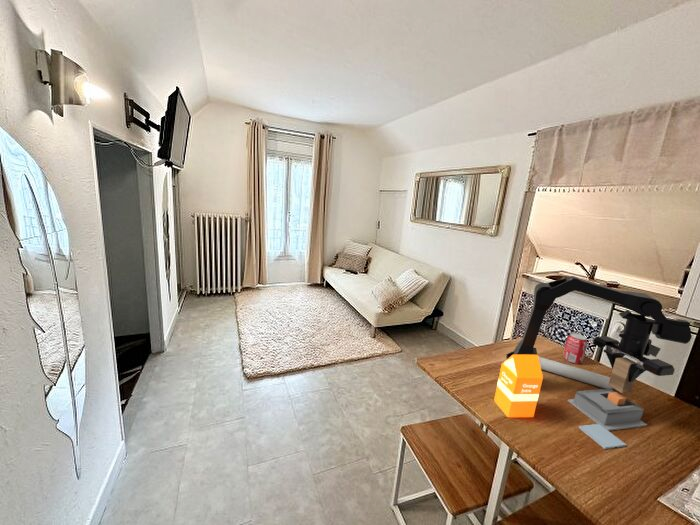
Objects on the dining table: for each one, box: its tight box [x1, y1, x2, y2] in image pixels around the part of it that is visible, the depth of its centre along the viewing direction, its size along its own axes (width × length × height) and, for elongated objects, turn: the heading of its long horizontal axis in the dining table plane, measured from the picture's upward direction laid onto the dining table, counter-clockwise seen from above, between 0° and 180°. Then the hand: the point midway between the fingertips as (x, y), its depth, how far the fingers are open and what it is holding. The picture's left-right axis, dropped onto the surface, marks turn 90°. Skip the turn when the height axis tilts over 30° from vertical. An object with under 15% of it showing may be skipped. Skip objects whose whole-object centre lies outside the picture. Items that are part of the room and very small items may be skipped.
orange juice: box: [493, 354, 544, 418], centre depth 89 cm, size 8×9×20 cm
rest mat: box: [578, 423, 627, 450], centre depth 82 cm, size 8×8×1 cm
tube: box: [538, 355, 614, 390], centre depth 110 cm, size 5×5×25 cm
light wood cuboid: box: [608, 356, 637, 394], centre depth 89 cm, size 4×4×10 cm
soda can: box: [562, 332, 588, 365], centre depth 122 cm, size 7×7×12 cm
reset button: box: [607, 391, 627, 405], centre depth 91 cm, size 3×3×2 cm
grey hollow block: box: [567, 388, 648, 432], centre depth 92 cm, size 16×13×5 cm
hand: (622, 377), depth 90 cm, fingers closed on light wood cuboid, 4 cm apart
